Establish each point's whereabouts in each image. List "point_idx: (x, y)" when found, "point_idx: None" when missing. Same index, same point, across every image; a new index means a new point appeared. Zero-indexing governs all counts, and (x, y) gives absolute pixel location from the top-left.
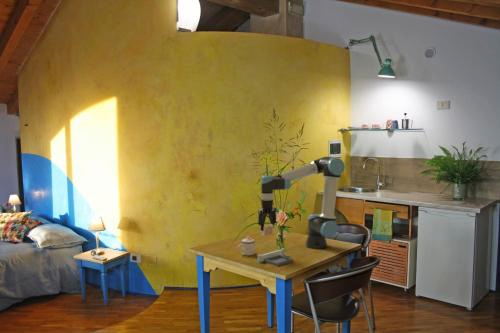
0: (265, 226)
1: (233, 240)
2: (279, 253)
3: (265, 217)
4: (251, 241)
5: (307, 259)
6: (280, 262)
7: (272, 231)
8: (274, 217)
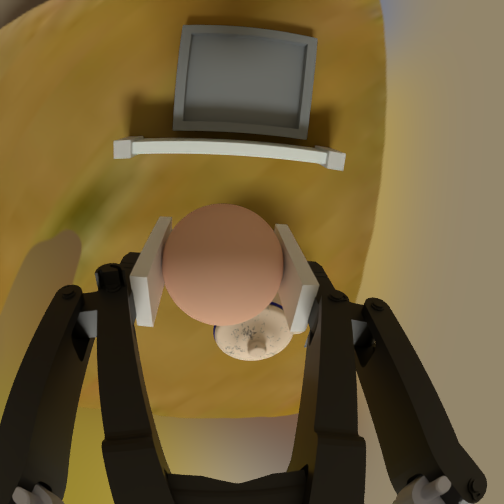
0: (260, 295)
1: (167, 408)
2: (163, 139)
3: (328, 398)
4: (265, 309)
5: (105, 18)
6: (290, 36)
7: (162, 229)
8: (57, 353)
